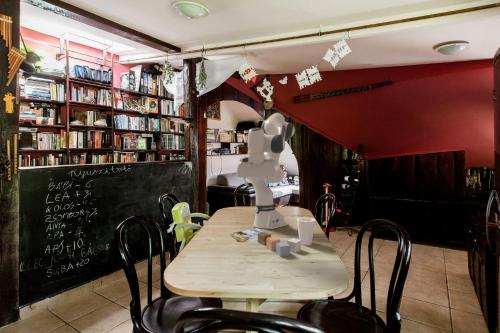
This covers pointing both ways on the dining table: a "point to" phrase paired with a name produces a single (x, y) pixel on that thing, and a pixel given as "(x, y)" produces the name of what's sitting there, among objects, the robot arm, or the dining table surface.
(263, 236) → the walnut cube
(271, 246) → the terracotta cube
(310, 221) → the foam cup
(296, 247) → the pale grey cube
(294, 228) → the dining table surface
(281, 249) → the slate blue cube
